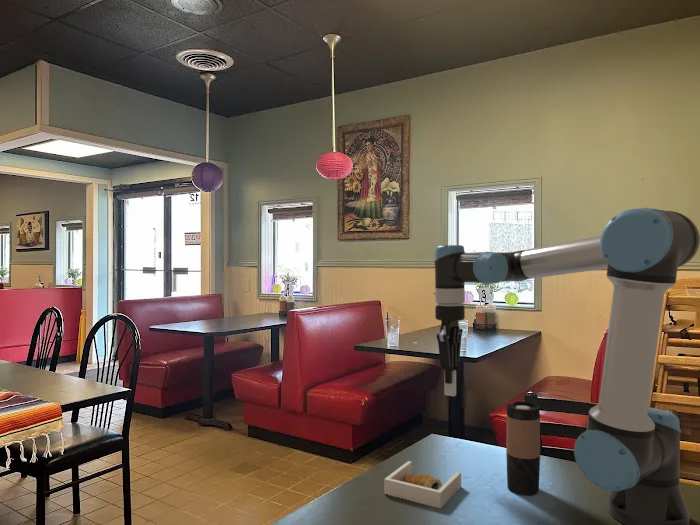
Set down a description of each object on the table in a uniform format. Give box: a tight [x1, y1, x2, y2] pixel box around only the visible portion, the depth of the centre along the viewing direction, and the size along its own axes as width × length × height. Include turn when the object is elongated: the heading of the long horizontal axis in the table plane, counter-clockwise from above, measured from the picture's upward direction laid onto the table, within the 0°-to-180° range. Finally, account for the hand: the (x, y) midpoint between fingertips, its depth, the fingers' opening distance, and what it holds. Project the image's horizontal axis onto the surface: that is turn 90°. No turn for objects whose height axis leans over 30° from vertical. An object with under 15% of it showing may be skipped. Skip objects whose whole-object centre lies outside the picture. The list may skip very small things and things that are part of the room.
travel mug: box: [505, 401, 541, 497], centre depth 128 cm, size 8×8×20 cm
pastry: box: [404, 473, 443, 490], centre depth 129 cm, size 9×7×4 cm
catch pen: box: [383, 460, 462, 509], centre depth 128 cm, size 14×13×4 cm
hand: (450, 395), depth 140 cm, fingers closed
